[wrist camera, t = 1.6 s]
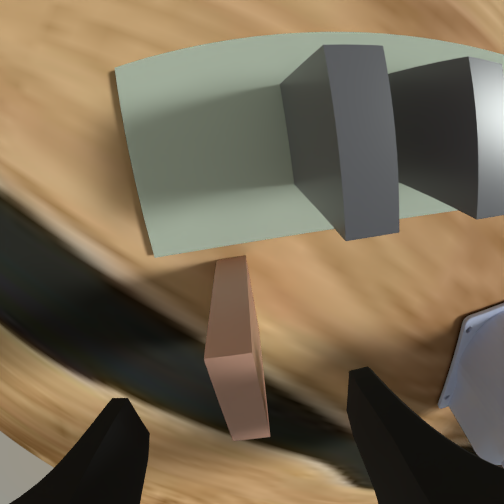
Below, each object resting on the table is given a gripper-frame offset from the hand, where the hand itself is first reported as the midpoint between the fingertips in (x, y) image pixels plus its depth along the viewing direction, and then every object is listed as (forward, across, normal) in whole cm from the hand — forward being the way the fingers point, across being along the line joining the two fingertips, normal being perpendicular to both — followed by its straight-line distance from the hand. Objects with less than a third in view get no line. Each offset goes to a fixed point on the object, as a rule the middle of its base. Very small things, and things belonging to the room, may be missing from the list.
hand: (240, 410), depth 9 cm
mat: (+7, -10, -8) cm, 14 cm away
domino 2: (+7, -8, -8) cm, 13 cm away
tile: (+7, 0, 0) cm, 7 cm away
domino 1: (+7, -4, -8) cm, 11 cm away
